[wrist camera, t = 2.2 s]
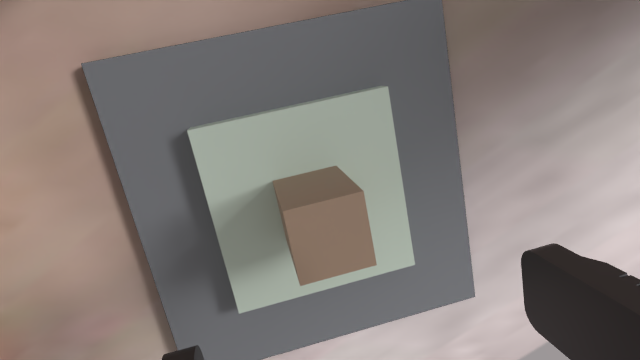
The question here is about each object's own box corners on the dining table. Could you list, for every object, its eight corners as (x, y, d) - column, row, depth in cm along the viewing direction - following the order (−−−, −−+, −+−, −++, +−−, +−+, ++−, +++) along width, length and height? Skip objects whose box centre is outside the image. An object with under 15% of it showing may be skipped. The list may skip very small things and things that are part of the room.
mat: (435, -5, 21) (441, -7, 20) (469, 291, 25) (475, 296, 24) (85, 63, 19) (81, 63, 18) (189, 373, 23) (188, 380, 22)
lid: (380, 85, 21) (430, 90, 15) (407, 256, 23) (458, 311, 18) (189, 127, 19) (172, 148, 14) (238, 303, 22) (240, 376, 17)
